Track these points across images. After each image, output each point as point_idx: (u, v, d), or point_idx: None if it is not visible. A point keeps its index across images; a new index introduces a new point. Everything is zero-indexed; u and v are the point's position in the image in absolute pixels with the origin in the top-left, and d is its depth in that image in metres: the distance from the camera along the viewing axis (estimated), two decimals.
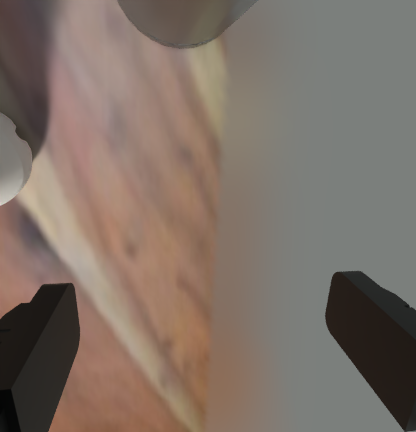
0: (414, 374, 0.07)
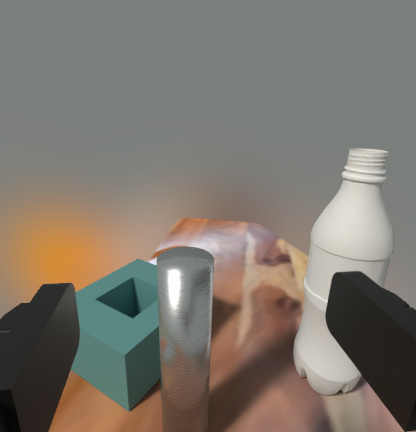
0: (414, 374, 0.07)
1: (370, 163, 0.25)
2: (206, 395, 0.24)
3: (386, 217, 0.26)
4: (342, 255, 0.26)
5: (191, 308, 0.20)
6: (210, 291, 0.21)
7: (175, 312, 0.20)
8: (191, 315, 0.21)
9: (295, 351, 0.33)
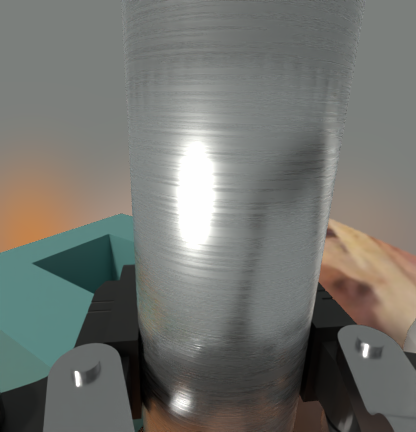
0: (307, 348, 0.07)
1: None
2: None
3: None
4: None
5: (279, 171, 0.04)
6: (344, 123, 0.05)
7: (203, 190, 0.04)
8: (276, 208, 0.04)
9: None
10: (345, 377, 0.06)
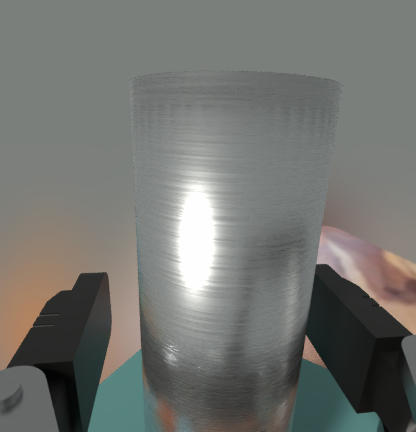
0: (364, 359, 0.07)
1: None
2: None
3: None
4: None
5: (266, 252, 0.05)
6: (324, 200, 0.06)
7: (202, 268, 0.05)
8: (264, 282, 0.05)
9: None
10: None
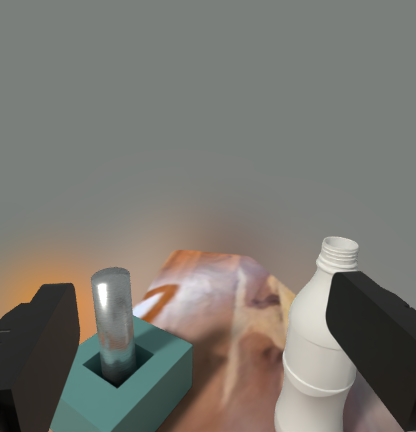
0: (414, 374, 0.07)
1: (341, 259, 0.26)
2: (131, 367, 0.36)
3: None
4: (315, 343, 0.27)
5: (112, 308, 0.32)
6: (126, 297, 0.33)
7: (102, 310, 0.32)
8: (113, 312, 0.32)
9: (275, 419, 0.34)
10: None
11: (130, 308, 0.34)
